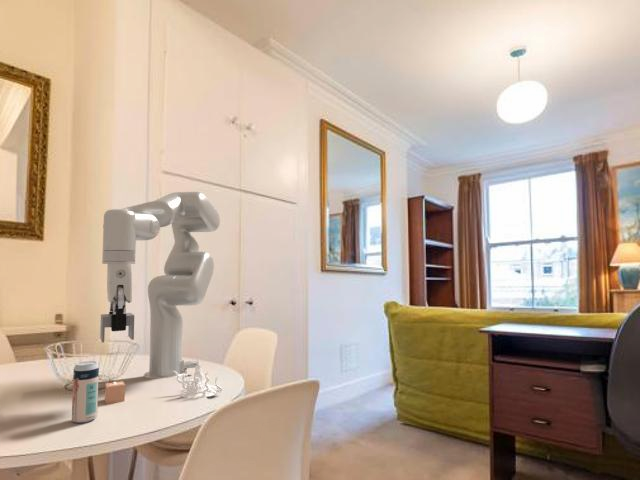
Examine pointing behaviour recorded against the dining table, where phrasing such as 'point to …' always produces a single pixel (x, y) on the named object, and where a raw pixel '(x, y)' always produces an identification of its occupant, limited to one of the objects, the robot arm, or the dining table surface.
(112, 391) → the letter cube
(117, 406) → the dining table surface
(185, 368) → the robot arm
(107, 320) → the cover
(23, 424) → the dining table surface
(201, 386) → the tentacle sculpture
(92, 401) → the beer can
